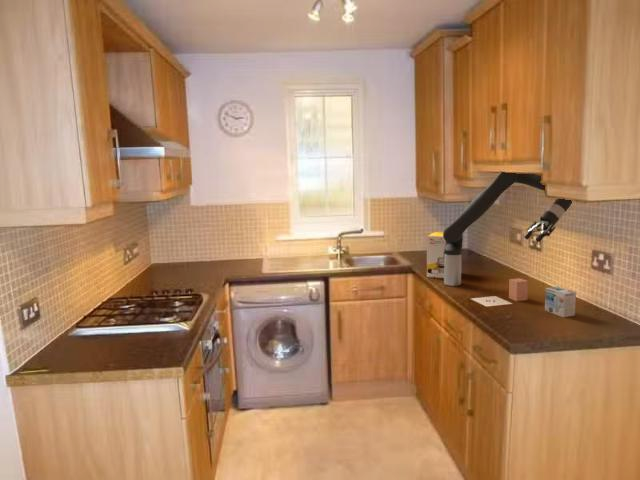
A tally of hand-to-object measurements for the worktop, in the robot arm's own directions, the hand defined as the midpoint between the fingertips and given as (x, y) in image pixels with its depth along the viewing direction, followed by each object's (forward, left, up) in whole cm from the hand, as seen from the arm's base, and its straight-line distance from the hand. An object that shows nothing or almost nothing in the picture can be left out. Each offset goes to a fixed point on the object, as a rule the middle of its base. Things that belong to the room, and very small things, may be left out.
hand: (531, 239), depth 229 cm
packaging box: (-52, -27, -29) cm, 65 cm away
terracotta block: (+6, -9, -29) cm, 31 cm away
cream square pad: (+7, -23, -29) cm, 37 cm away
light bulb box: (+28, -1, -29) cm, 40 cm away
